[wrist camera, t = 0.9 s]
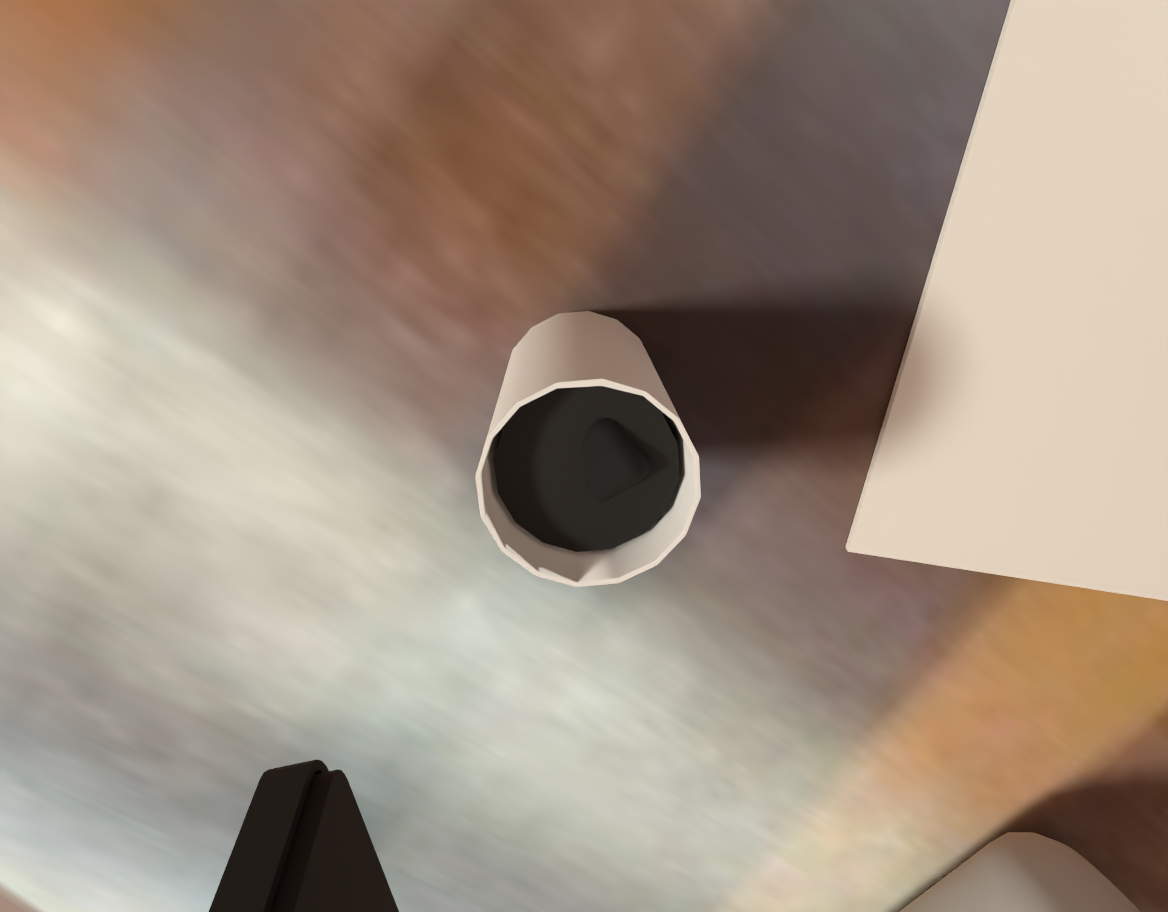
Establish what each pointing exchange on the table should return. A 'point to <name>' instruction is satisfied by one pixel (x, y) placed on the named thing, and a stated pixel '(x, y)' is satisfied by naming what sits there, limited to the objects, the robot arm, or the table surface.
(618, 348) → the white cup
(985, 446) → the mat
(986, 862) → the jar
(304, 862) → the robot arm
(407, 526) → the table surface
